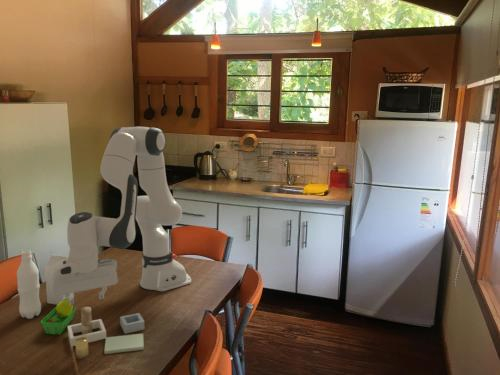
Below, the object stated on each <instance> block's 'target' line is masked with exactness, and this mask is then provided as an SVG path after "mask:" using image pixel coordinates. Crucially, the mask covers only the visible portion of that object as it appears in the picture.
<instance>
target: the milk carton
mask: <svg viewBox="0 0 500 375" xmlns="http://www.w3.org/2000/svg"><path fill="white" fill-rule="evenodd" d="M66 258H68V257H67V256H66V255H58V254H57V255H56V254H50V257H49V259H48V261H47V263H46V265H45V266H44V270H45V271H44V273H45V275H44V276H45V286H46V302H47V304H51V305H56V306H57V305H58V304H59V303H60V302H62V301H64V299H65V298H66V297H65V295H60V296H55V295H54V294H53V293H52V277H53V273H54V272H55V263H57V262H59V261H61V260H63V259H66ZM69 297H70V298H73V299H74V298H75V293H70V296H69Z"/></svg>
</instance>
